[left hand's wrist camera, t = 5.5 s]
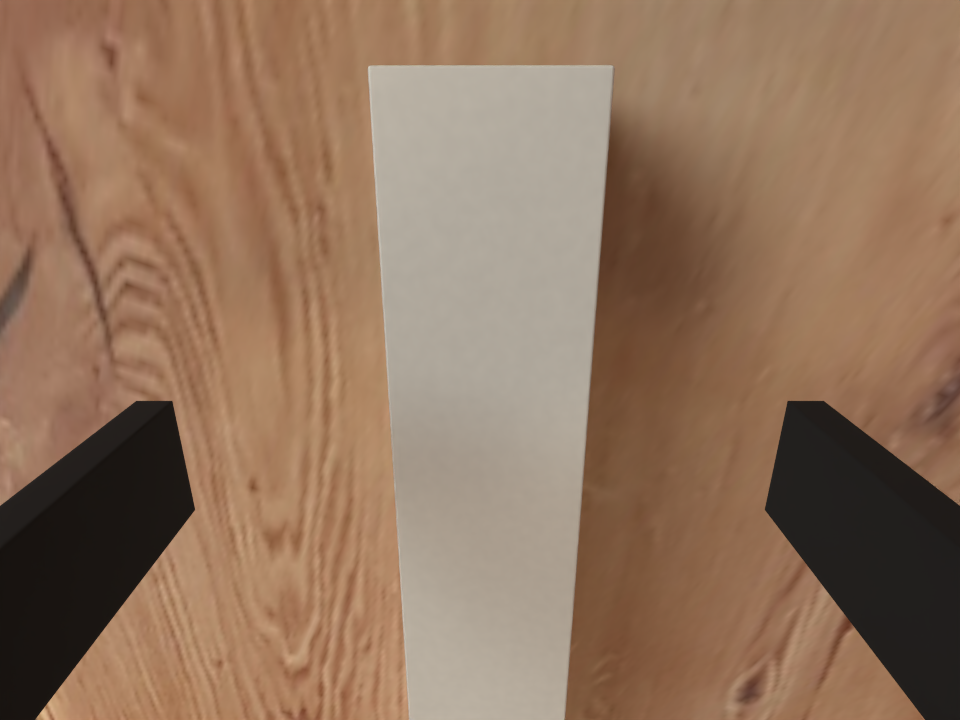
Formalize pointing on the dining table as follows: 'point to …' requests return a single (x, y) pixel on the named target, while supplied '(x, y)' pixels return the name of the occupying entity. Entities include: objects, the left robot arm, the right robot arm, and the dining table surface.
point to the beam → (489, 367)
